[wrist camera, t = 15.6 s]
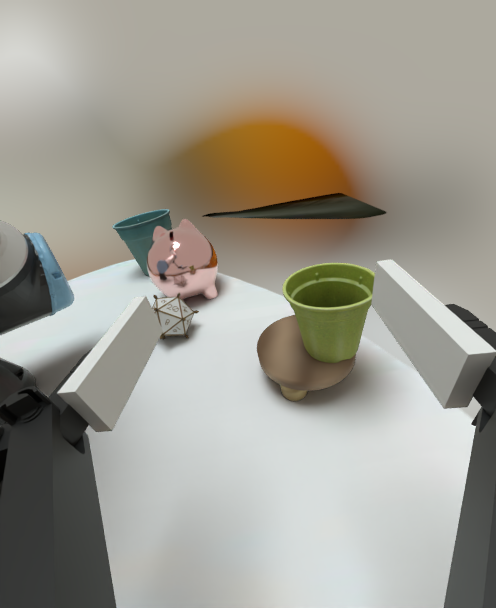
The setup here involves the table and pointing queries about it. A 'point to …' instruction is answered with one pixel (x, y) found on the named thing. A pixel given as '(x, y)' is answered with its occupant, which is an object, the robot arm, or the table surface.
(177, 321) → the game die
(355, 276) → the plant pot
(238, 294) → the table surface
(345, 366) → the stand
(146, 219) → the flower pot
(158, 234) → the piggy bank
